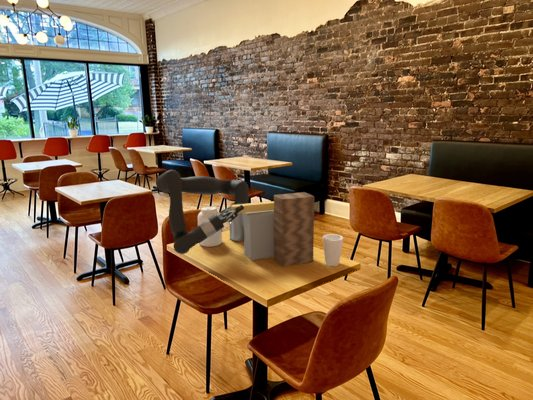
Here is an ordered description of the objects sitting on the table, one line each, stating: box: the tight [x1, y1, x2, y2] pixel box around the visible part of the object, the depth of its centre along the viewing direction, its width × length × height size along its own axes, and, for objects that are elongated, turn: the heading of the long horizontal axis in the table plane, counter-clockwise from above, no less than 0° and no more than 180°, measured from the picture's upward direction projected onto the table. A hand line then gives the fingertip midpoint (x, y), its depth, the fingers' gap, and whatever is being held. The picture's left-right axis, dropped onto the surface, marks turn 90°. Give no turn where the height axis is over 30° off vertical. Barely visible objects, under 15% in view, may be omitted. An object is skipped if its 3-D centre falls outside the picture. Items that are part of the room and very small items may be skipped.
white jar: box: [197, 206, 223, 248], centre depth 215 cm, size 12×12×20 cm
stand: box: [273, 191, 315, 267], centre depth 188 cm, size 16×10×32 cm, turn 111°
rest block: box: [243, 210, 274, 261], centre depth 197 cm, size 16×10×22 cm, turn 111°
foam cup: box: [322, 233, 344, 267], centre depth 186 cm, size 10×9×13 cm
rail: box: [230, 200, 274, 213], centre depth 193 cm, size 26×4×4 cm, turn 111°
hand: (241, 205), depth 190 cm, fingers closed on rail, 3 cm apart
